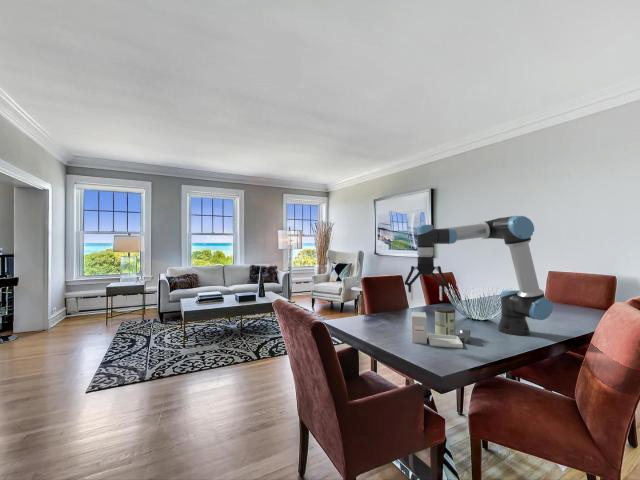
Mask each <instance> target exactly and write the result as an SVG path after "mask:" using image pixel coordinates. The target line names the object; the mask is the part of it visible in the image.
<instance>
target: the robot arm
mask: <svg viewBox="0 0 640 480" xmlns="http://www.w3.org/2000/svg"><path fill="white" fill-rule="evenodd" d="M534 232H535V225H534V223H533V221H532V220H531V219H530V218H528V217H527V216H525V215H512V216H511V215H510V216H505V217H497V218H495V219H490V220H485V221H481V222H479V223H476V224H469V225H468V224H467V225H461V226H460V225H459V226H451V227H443V228H434V225H433V224H419V225H417V229H416V240H417V241H416V242H417V243H416V245H417V248H416V249H417V252H416V253H417V257H416V259H417V265H416V266H415V265H411V266H410V271H409V273H408V274H407V277H406V278H405V281H404V285H406V286H408V289H407V291H408V293H410V301H411V300H412V301H413V300H414V298H413V295H414V294H413V292H414V290H413V283H415V282H416V280H417V279H418V278H419V277H420V276H432V277H433V278H434V280H435V281H436V282H437V283H439V300H440V301H443V294H445V287H446V286H448V285H449V283H448V281H447V279H446V277H445V275H444V273H443V271H442V268H441V267H442V266H440V265H438V266H435V264H434V262H435V261H434V245H453V244H455V243H457V242H458V241H464V240H473V239H480V238H481V240H482V239H483V240H490V239H496V240H503V241H504V244H505V246H507V247H509V251H510V256H511V260H512V264H513V266H514V267H513V268H514V272H515V273H514V274H515V277H516V280H517V284H518V288H519V290H513V289H512V290H503V291H501V294H500V295H501V296H500V300H501V301H500V304H501V307H500V308H501V310H500V311H501V316H500V319H499V322H498V324H497V325H498V326H497V330H498V331H499V332H501V333H502V334H503V333H505V334H509V335H513V336H528V335H530V333H531V331H530V327H529V325H528V321H527V318H529V319H531V320H537V321H543V320H546V319H548V318H549V317H550V316H551V314H552V313H553V309H554V304H553V302H552V301H551V300H550V299H549V298H548V297H546V296H545V293H544V290H543V289H541V288H540V285H539V282H538V278H537V274H536V270H535V264H534V261H533V257H532V256H533V255H532V253H531V248H530V245H529V243H530V242H531V241H532V236H533V234H534ZM416 270H417V271H418V272H417V273H416V274H415V276H413V278H411V277H412V275H413V273H414V271H416ZM435 270H436V271H437V272H438V273H439V276H440V277H441V279H440V278H439V277H438V276H437V275H436V274H435V273H434V271H435ZM410 279H411V280H410ZM442 281H443V282H442Z"/></svg>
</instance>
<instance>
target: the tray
mask: <svg viewBox="0 0 640 480" xmlns="http://www.w3.org/2000/svg"><path fill="white" fill-rule="evenodd" d="M427 341H428V344H429V347H434V348H435V347H437V348H438V347H439V348H451V349H464V344H463V343H462V342H461V340H460V339H459V335H456V334H455V335H441V334H435V333H427Z"/></svg>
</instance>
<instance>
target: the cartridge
mask: <svg viewBox="0 0 640 480" xmlns="http://www.w3.org/2000/svg"><path fill="white" fill-rule="evenodd" d="M458 330H459V334H458V337H459V339H460V340H461V342H462V344H463V345H469V344H471V330H470V329H468V328H467V329H466V328H460V329H458Z"/></svg>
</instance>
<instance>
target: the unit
mask: <svg viewBox="0 0 640 480" xmlns="http://www.w3.org/2000/svg"><path fill="white" fill-rule="evenodd" d="M410 317H411V318H410V319H411V321H410V323H411V329H410V331H411V332H410V333H411V344H413V343H414V344H425V345H427V344H428V323H427V322H428V320H427V319H428V317H427V313H426V312H425V311H424V312H420V311H411V315H410Z"/></svg>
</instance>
